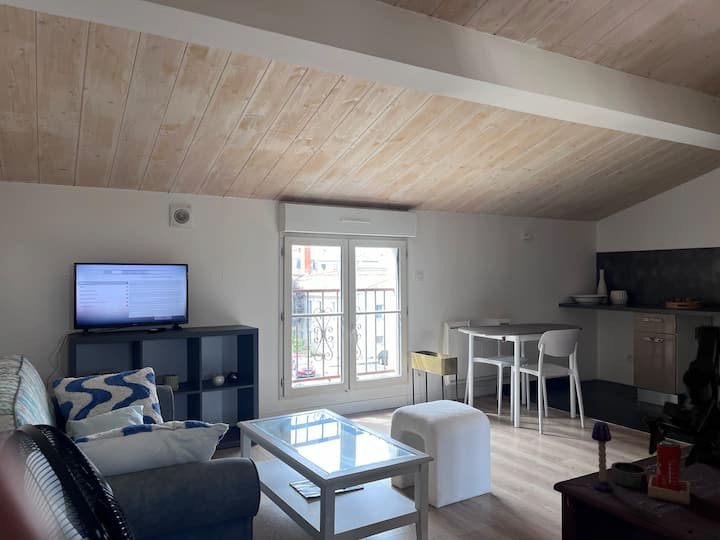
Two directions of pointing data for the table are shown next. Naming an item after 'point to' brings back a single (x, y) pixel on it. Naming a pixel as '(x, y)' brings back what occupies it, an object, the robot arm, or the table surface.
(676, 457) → the beverage can
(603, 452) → the toy lamp
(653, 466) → the table surface
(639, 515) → the table surface
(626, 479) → the steel collar
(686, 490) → the terracotta tray
